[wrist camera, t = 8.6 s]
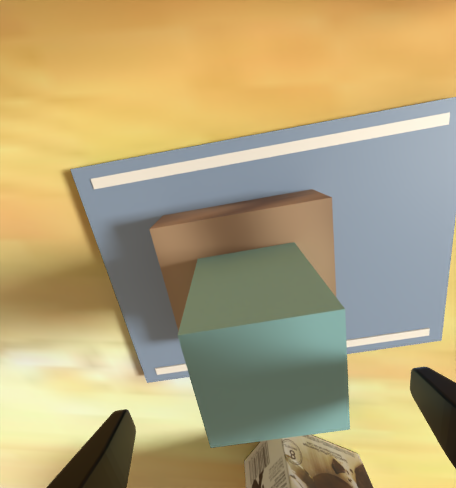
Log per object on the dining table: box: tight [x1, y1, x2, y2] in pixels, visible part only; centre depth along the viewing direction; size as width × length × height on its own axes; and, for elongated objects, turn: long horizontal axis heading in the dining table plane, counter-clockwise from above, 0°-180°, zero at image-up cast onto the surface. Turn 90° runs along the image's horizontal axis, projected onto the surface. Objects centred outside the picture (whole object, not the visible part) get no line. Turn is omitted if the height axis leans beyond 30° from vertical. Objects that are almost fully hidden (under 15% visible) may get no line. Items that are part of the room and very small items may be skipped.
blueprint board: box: [70, 97, 456, 383], centre depth 17 cm, size 22×16×1 cm
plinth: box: [149, 189, 336, 331], centre depth 16 cm, size 9×9×3 cm
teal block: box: [178, 242, 350, 448], centre depth 11 cm, size 5×5×6 cm
